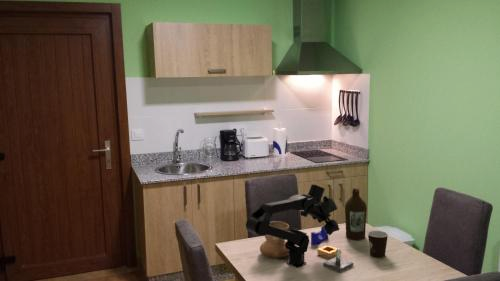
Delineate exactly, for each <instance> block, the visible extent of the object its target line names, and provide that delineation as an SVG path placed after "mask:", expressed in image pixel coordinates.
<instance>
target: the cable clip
mask: <svg viewBox="0 0 500 281" xmlns="http://www.w3.org/2000/svg"><path fill="white" fill-rule="evenodd" d="M323 226H324V225H322V226H321V227H320V228H321V229H320V230H319V231H318V232H315V231H311V232H310V244H311V245H314V246H318V245H320V244H322V243H323V242H324V241H326V240H327V239H329V235H328V234H326V232H325V231H324V229H323Z"/></svg>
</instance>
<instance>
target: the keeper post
mask: <svg viewBox="0 0 500 281" xmlns="http://www.w3.org/2000/svg"><path fill="white" fill-rule="evenodd" d="M341 252H342V251H341V249H340V248H337V250H336V256H335V257H333V258H330V259H328V260H325V261H324V262H323V263H322V264H323V265H322V266H323V267H324V268H328V269H330V270H333V271H335V272H338V273H342V272H344V271H346V270H348V269H350V268H352V267H354V262H352V261H349V260H347V259H344V258H341Z"/></svg>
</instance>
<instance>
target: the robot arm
mask: <svg viewBox="0 0 500 281" xmlns="http://www.w3.org/2000/svg"><path fill="white" fill-rule="evenodd" d="M325 190H326V189H325V188H324V187H322V186H319V185H317V184H314V183H312V184H311V185H310V188H309V191H308V193H307V194H305V193H302V194H294V195H292V196H289V198H287V199H284V200H278V201H274V202H268V203H267V202H266V203H262V204H261V205H260V207H259V208H258V209H257V210H255V211H254V212H253V213H251V215H250V217H249V218H248V219H247V220H246V222H245V228H246V231H248V232H251V233H253V234H255V235H257V236H264V235H271V236H275V237H278V238H281V239H285V241H286V244H285V247H286V249H289V250H290V251H289V255H288V261H286V262H285V263H286V264H287V265H289V266H292V267H294V268H300V267H302V266H305V265H307V263H308V262H307V261H305V253H306V252H308V248H309V244H310V238H309V235H308V234H307V232H304V231H303V230H302V231H301V230H299V229H295V228H293V227H290V230H288V231H286V230H282V229H279V228H276V227H273V226H270V225H269V224H270V222H271V220H272V216H273V215H274V214H276V213H277V214H278V213H283V212H288V211H293V210H295V211H296V210H297V211H300V212H299V213H300V216H302V217H304V218H307V217H308V216H310V217H311V218H312V219H313V220H314V221H315V220H317V222H318V223H319V224H321V223H322V222H324V223H325V225H322V226H323V229H324V231H325V232H326V234H328V236H331V235H332V234H334V233H335V232H339V231H340V227H339V223H338V222H337V221H336V220H335V219H334V218H333V219H330V217H331V216H332V215H331V213H333V212H335V211H336V210H338V207H337V204H336V203H335V201H334V200H333V198H332V197H329V196H327V195H324V193H325ZM323 195H324V196H323ZM263 216H264V218H263V219H260V218H261V217H263Z"/></svg>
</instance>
